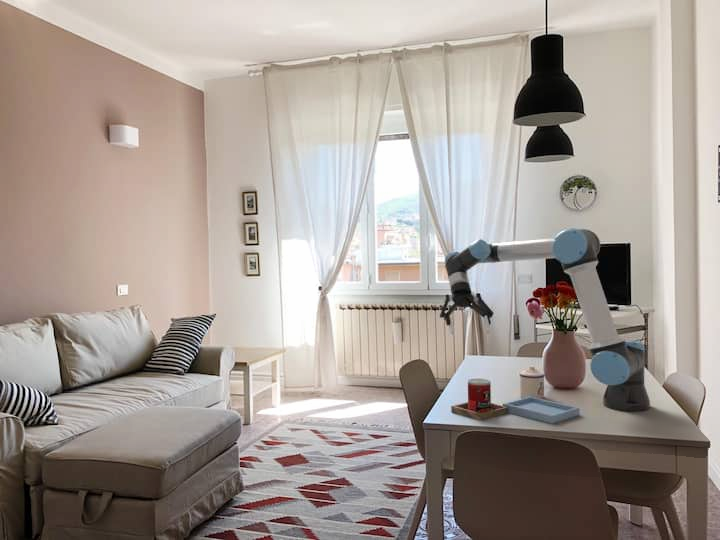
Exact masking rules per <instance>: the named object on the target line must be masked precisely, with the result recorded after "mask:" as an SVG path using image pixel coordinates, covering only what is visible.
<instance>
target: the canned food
mask: <svg viewBox="0 0 720 540" xmlns="http://www.w3.org/2000/svg"><path fill="white" fill-rule="evenodd" d="M491 385H492V384H491V380H489V379H487V378H470V379H468V380H467V402H468V409H467V410H470V411H474V412H477V413H485V412H488V411H492V409H491V403H492V400H491V399H492V395H491V393H492V391H491V390H492V389H491Z"/></svg>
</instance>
